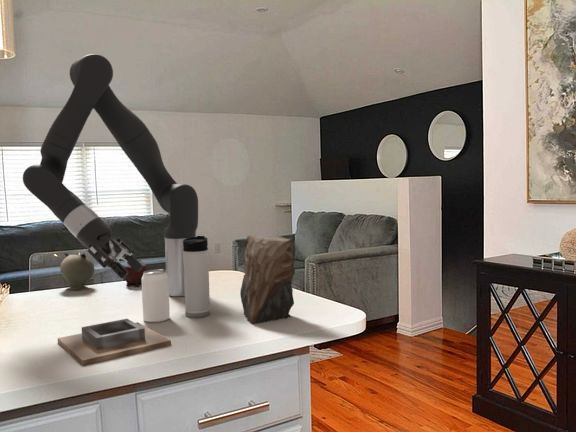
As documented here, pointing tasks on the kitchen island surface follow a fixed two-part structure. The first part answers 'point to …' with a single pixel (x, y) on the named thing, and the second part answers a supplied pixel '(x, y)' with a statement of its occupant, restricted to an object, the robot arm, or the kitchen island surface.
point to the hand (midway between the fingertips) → (133, 272)
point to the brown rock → (267, 279)
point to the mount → (111, 341)
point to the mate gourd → (134, 274)
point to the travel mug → (196, 277)
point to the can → (155, 296)
